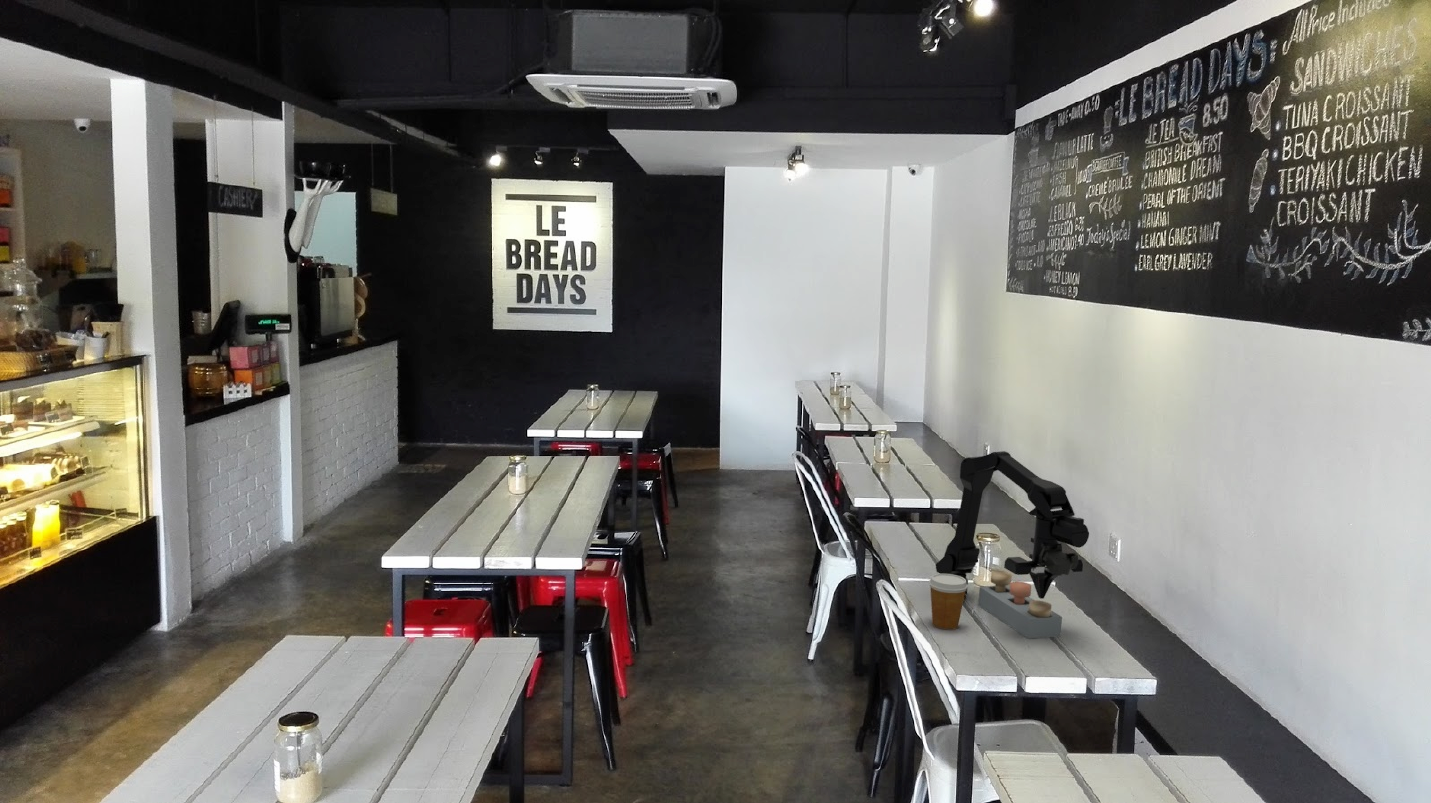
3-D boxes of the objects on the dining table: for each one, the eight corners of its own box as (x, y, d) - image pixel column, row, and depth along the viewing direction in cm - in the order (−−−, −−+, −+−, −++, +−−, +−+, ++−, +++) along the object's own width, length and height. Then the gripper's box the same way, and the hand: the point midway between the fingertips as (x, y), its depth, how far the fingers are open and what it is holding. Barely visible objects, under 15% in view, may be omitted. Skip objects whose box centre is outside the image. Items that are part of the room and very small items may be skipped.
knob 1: (995, 604, 266) (998, 576, 264) (985, 597, 271) (987, 570, 269) (1013, 603, 267) (1015, 576, 266) (1002, 596, 272) (1005, 569, 271)
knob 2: (1034, 637, 248) (1037, 608, 247) (1022, 629, 253) (1025, 601, 252) (1053, 635, 250) (1055, 607, 249) (1041, 628, 255) (1043, 599, 254)
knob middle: (1014, 616, 257) (1017, 588, 256) (1003, 609, 262) (1006, 581, 261) (1032, 615, 258) (1035, 587, 257) (1021, 608, 263) (1024, 580, 262)
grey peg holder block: (1028, 638, 248) (1029, 619, 247) (978, 604, 271) (979, 586, 270) (1060, 636, 250) (1062, 616, 249) (1008, 603, 273) (1009, 585, 272)
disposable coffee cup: (939, 615, 261) (942, 570, 260) (972, 626, 255) (975, 580, 253) (918, 624, 255) (921, 577, 253) (951, 635, 248) (954, 587, 246)
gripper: (1030, 547, 238) (1025, 611, 240) (1100, 544, 243) (1094, 607, 245) (1005, 534, 248) (1000, 595, 251) (1072, 531, 253) (1067, 592, 255)
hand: (1041, 598), depth 250 cm, fingers closed
